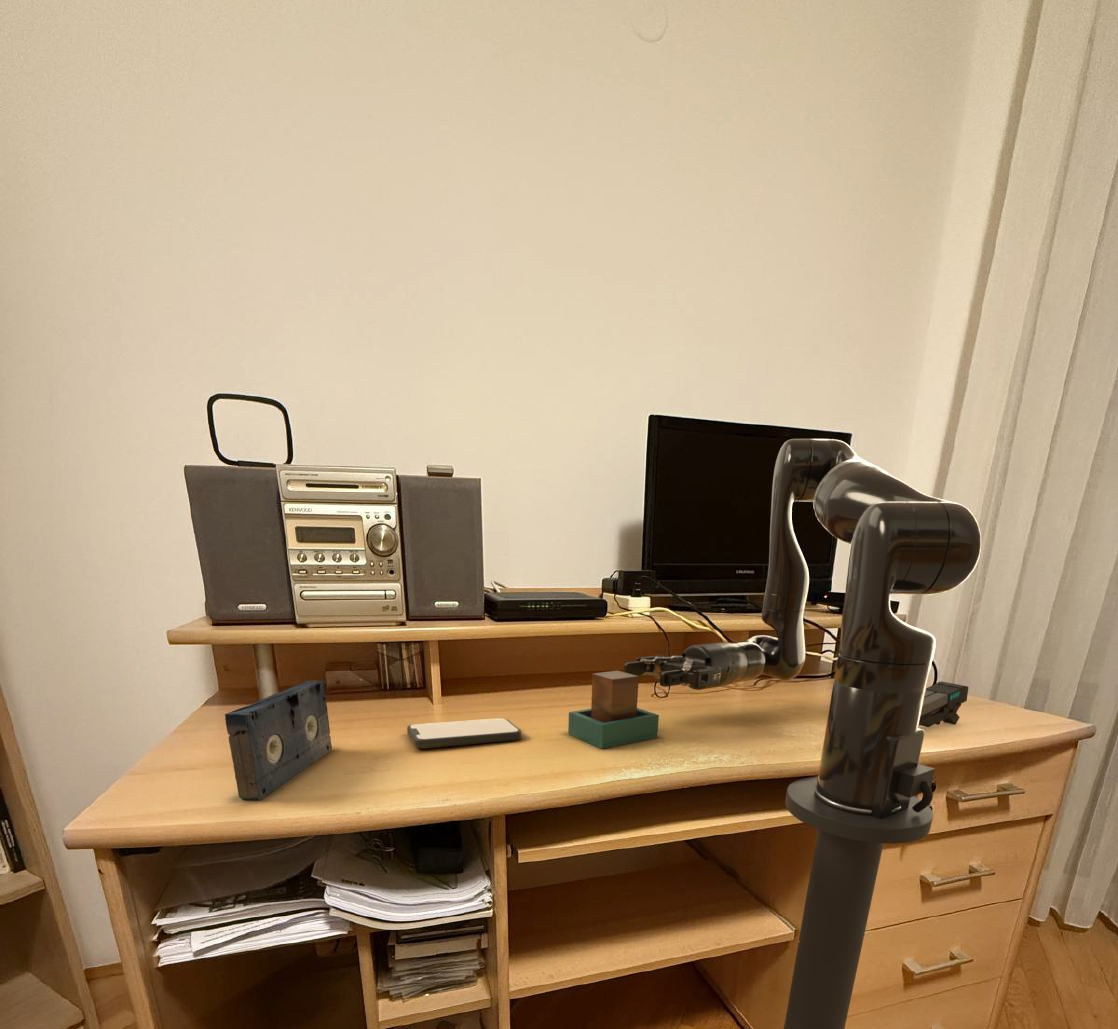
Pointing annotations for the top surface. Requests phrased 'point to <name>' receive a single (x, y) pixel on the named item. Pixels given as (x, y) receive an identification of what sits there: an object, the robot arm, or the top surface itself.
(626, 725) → the open box
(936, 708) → the gun
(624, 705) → the brown block
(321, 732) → the vhs cassette tape
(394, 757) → the top surface
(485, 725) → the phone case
